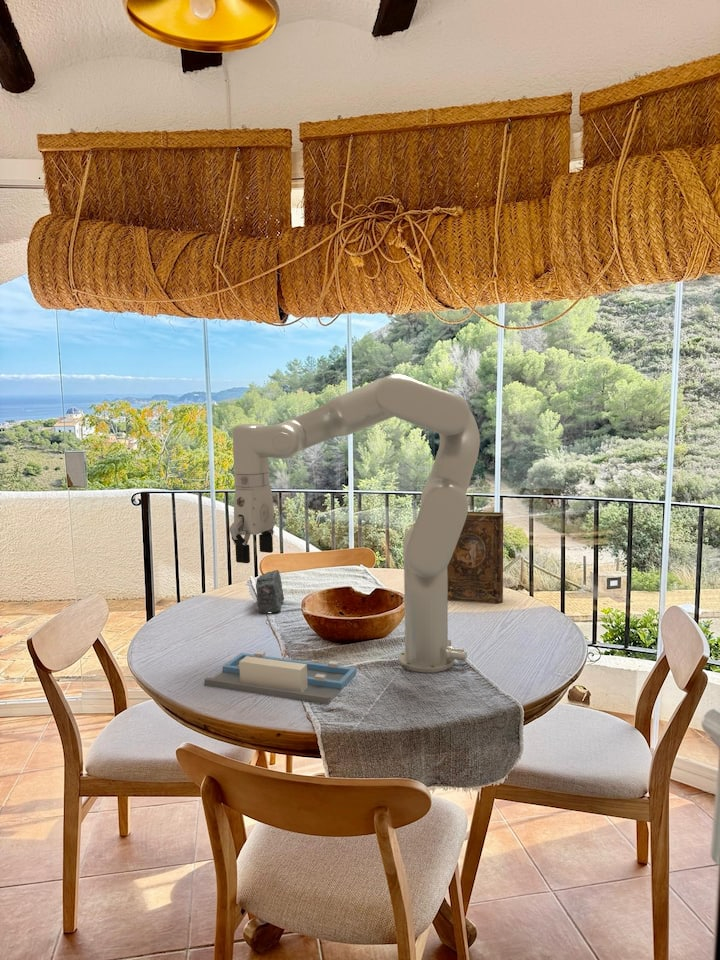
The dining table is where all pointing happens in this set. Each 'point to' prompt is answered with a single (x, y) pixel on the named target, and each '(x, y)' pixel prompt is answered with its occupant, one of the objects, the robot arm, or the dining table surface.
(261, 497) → the robot arm
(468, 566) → the book
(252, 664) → the bar
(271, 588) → the stone
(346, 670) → the board
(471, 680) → the dining table surface
